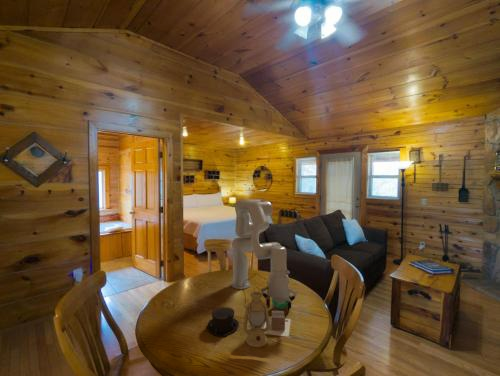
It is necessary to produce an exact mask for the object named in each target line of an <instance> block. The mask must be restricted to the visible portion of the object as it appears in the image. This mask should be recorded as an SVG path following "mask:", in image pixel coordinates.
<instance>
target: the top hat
mask: <svg viewBox="0 0 500 376" xmlns="http://www.w3.org/2000/svg"><path fill="white" fill-rule="evenodd" d="M211 316H212V318H211V319H210V320H209V321H208V322H207V330H208V332H209V333H210V334H211V335H213V336H214V337H215V336H216V337H219V338H221V337H227V336H229V335H231V334H233V333H234V332H235V331H236V330H237V329H238V328H239V325H240V323H239V320H237V319H236V318H234V317H235V310H234V309H233V308H231V307H227V306H219V307H216V308H214V309H212V311H211Z"/></svg>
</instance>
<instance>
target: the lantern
mask: <svg viewBox="0 0 500 376" xmlns="http://www.w3.org/2000/svg"><path fill="white" fill-rule="evenodd" d="M256 274H257V275H258V276H259V278H262V279H264V280H266V278H265V277H263V276H261V275H260V274H259V273H258V272H257V273H255V274H254V275H253V276H251V277H248V279H247V280H248V281H249V280H250V279H253V278H255V276H256ZM244 282H245V281H244ZM266 283H267V285H268V280H266ZM243 286H244V283H243ZM256 288H257V289H259V287H258V286H256V287H255V288H254V289H253V292H251V293H250V297H251V298H252V299H251V302H250V303H248V304H247V305H246V306H244V308H245V313H244V316H243V317H244V318H243V325H242V329H243V332H244V333H246V334H247V336H246V339H245V342H246V344H247V345H248V346H250V347H252V348H261V347H263V346H265V345H266V344H267V342H268V339H267V337H266V334H265V332H267V331H268V329H269V328H270V322H269V310H268V306H267V305H266V302H263V301H262V299H261V298H262V297H263V294H262V292H261V291H255V289H256ZM244 290H245V289H242V292H243V294H244V299H245V300H244V303H246V302H247V301H246V300H247V299H246V298H247V297H246V294H245V293H246V292H245V291H244ZM266 293H268V290H266ZM267 300H268V299H267ZM268 305H269V302H268ZM248 321H249V326H250V327H251V328H250V329H248ZM265 322H266V328H264V325H265ZM263 328H264V329H263Z"/></svg>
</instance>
